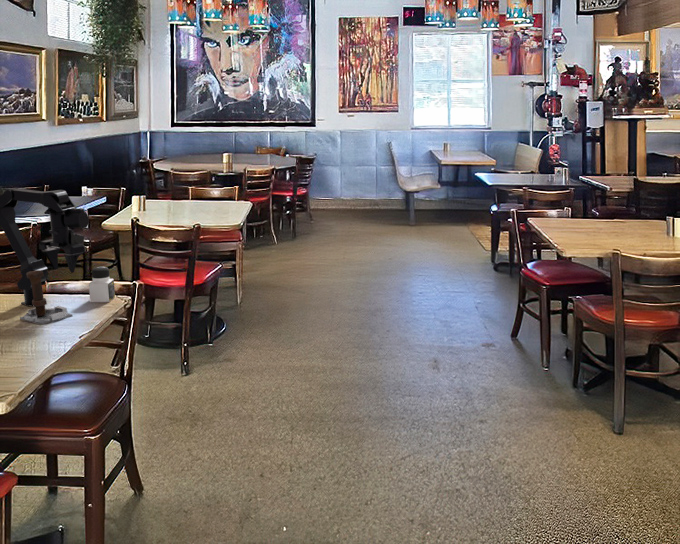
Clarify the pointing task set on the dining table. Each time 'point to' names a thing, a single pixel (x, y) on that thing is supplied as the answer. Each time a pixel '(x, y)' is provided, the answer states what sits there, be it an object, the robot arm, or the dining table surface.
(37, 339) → the dining table surface
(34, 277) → the bolt
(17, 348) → the dining table surface
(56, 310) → the ring collar
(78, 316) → the dining table surface
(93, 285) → the medicine bottle
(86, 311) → the dining table surface
